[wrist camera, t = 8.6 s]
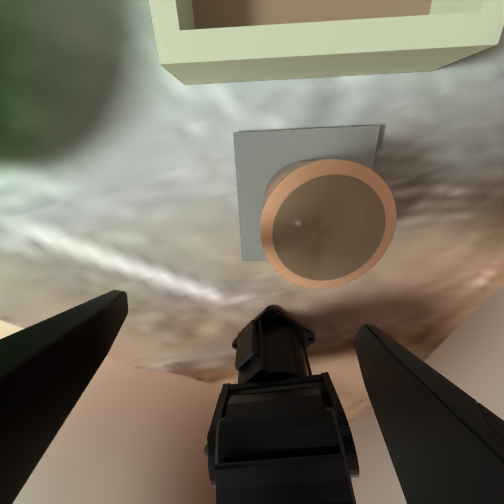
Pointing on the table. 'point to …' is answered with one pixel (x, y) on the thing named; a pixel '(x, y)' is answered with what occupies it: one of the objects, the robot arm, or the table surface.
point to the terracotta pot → (326, 221)
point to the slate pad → (281, 154)
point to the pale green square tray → (317, 37)
